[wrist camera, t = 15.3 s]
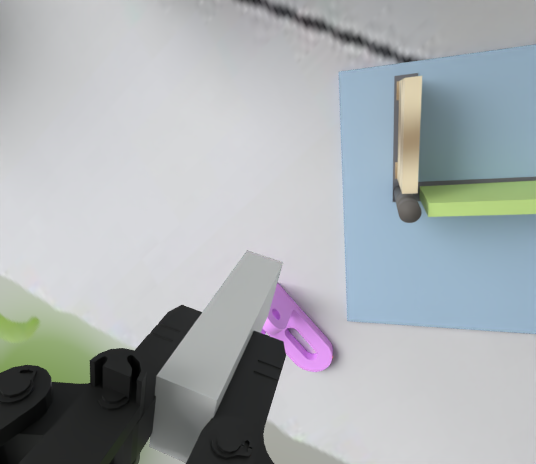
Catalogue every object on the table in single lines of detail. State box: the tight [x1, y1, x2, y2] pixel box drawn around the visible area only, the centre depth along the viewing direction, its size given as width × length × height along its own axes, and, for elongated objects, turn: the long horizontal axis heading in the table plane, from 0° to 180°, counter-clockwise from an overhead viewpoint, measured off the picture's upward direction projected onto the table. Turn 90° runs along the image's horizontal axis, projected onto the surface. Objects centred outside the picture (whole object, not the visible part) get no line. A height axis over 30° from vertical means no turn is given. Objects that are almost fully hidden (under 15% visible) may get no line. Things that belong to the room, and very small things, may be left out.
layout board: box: [339, 44, 536, 334], centre depth 34 cm, size 28×21×1 cm
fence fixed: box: [394, 76, 422, 223], centre depth 30 cm, size 11×2×8 cm, turn 6°
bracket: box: [261, 283, 333, 372], centre depth 42 cm, size 13×6×7 cm, turn 43°
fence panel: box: [419, 181, 536, 217], centre depth 30 cm, size 10×1×6 cm, turn 97°
